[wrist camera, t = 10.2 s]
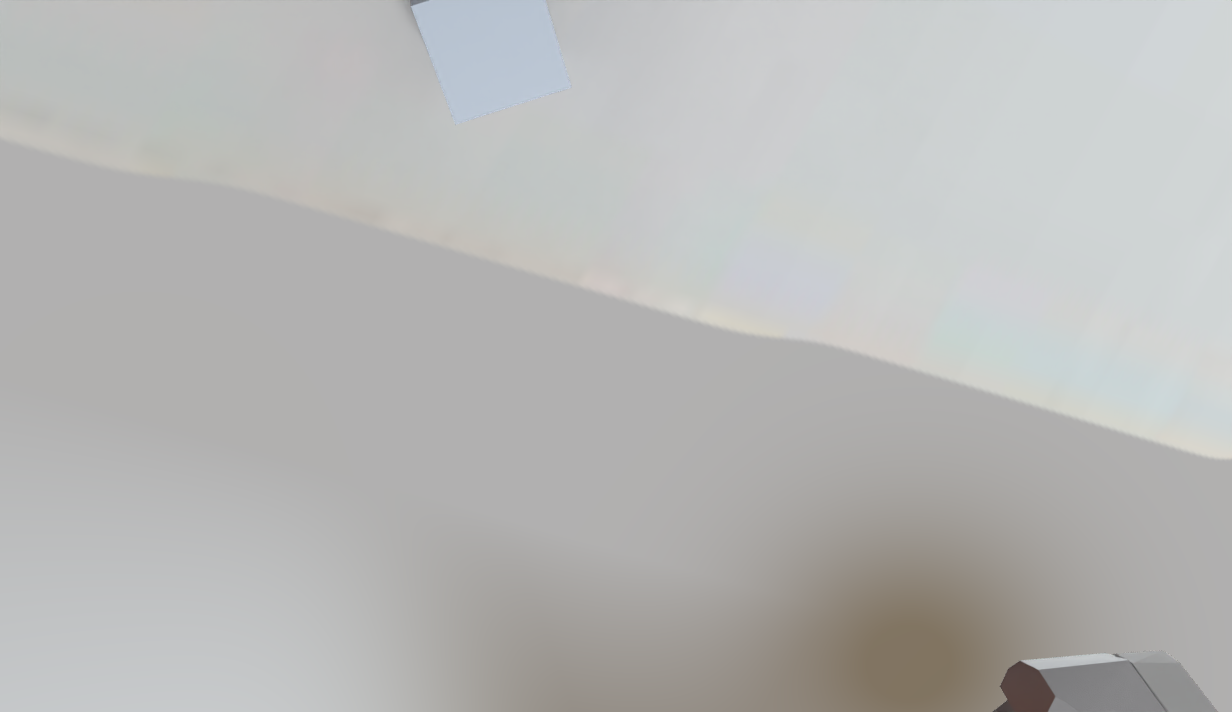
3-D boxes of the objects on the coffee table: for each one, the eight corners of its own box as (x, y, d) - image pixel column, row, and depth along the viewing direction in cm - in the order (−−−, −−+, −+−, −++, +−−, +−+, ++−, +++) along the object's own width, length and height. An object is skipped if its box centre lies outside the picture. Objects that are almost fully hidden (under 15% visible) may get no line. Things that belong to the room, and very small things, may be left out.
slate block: (523, -63, 35) (535, -35, 32) (557, 49, 38) (571, 87, 34) (410, -27, 35) (410, 6, 32) (451, 83, 38) (455, 124, 34)
